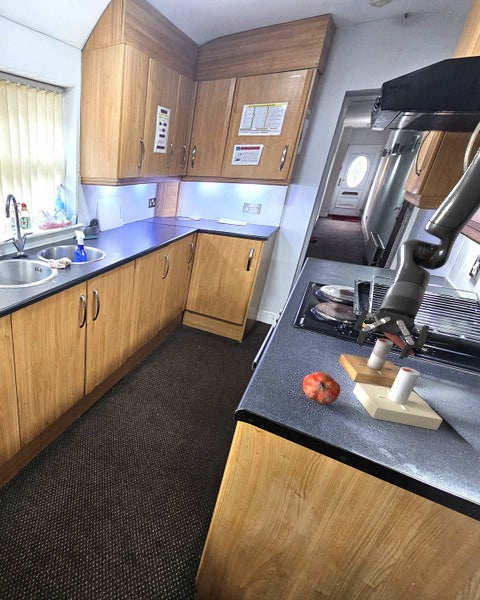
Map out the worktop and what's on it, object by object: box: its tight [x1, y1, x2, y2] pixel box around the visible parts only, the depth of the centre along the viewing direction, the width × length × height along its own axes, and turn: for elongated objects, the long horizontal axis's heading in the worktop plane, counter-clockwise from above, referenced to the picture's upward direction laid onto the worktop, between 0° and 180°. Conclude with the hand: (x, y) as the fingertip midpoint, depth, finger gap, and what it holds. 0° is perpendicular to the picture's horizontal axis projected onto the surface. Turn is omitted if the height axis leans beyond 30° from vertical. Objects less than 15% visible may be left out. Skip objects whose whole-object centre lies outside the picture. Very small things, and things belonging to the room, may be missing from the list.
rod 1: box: [367, 337, 394, 370], centre depth 88 cm, size 3×3×8 cm
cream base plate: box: [353, 382, 444, 431], centre depth 77 cm, size 12×10×3 cm
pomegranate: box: [302, 371, 341, 405], centre depth 80 cm, size 7×7×10 cm
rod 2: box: [388, 366, 421, 404], centre depth 75 cm, size 3×3×8 cm
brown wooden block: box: [338, 353, 400, 388], centre depth 90 cm, size 12×10×3 cm
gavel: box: [362, 322, 415, 356], centre depth 106 cm, size 21×5×10 cm
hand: (380, 351), depth 88 cm, fingers open, 8 cm apart
